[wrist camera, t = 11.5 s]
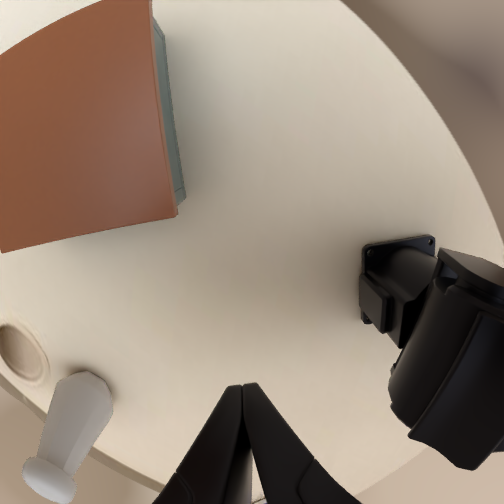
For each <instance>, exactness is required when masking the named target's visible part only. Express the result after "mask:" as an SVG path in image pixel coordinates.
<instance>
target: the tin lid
mask: <svg viewBox="0 0 504 504" xmlns="http://www.w3.org/2000/svg"><path fill="white" fill-rule="evenodd" d="M177 215H178V209H177V204H176V199H175V193H174V187H173V182H172V176H171V170H170V163H169V157H168V151H167V144H166V137H165V130H164V123H163V116H162V108H161V100H160V92H159V83H158V74H157V64H156V53H155V41H154V28H153V13H152V0H101V1H99V2H96V3H94V4H92V5H89V6H87V7H85V8H82V9H80V10H78V11H76V12H74V13H72V14H69V15H67V16H65V17H63V18H61V19H59V20H57V21H55V22H54V23H52V24H50V25H48V26H46V27H44V28H43V29H41V30H39V31H37V32H36V33H34V34H32V35H30V36H29V37H27V38H25V39H24V40H22V41H21V42H19V43H18V44H16V45H14V46H13V47H11V48H10V49H8V50H7V51H6V52H4V53H3V54H1V55H0V250H1V253H2V254H3V253H7V252H11V251H15V250H19V249H23V248H27V247H31V246H35V245H40V244H44V243H48V242H53V241H57V240H61V239H66V238H71V237H75V236H80V235H85V234H89V233H94V232H99V231H104V230H109V229H114V228H119V227H124V226H130V225H135V224H140V223H146V222H151V221H157V220H163V219H168V218H174V217H176V216H177Z"/></svg>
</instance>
